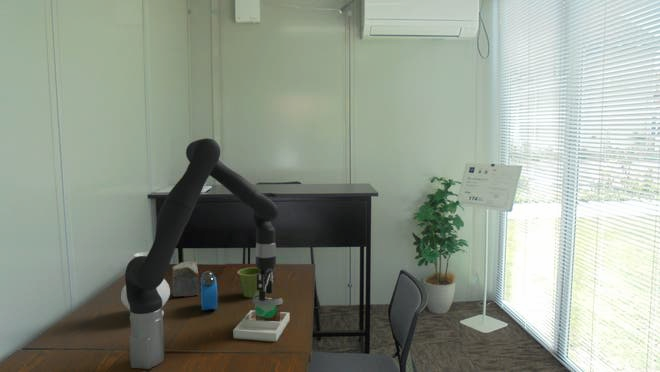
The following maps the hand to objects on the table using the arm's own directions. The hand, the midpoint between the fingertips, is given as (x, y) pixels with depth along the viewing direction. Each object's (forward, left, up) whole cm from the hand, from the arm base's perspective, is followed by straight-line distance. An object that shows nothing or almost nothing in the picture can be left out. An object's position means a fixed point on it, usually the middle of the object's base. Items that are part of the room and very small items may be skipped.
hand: (265, 296), depth 164 cm
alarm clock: (+11, +28, -11) cm, 32 cm away
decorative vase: (0, +49, -11) cm, 50 cm away
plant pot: (+29, +16, -11) cm, 35 cm away
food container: (-1, 0, -10) cm, 10 cm away
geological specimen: (+24, +45, -11) cm, 52 cm away
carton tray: (-4, 0, -11) cm, 12 cm away
